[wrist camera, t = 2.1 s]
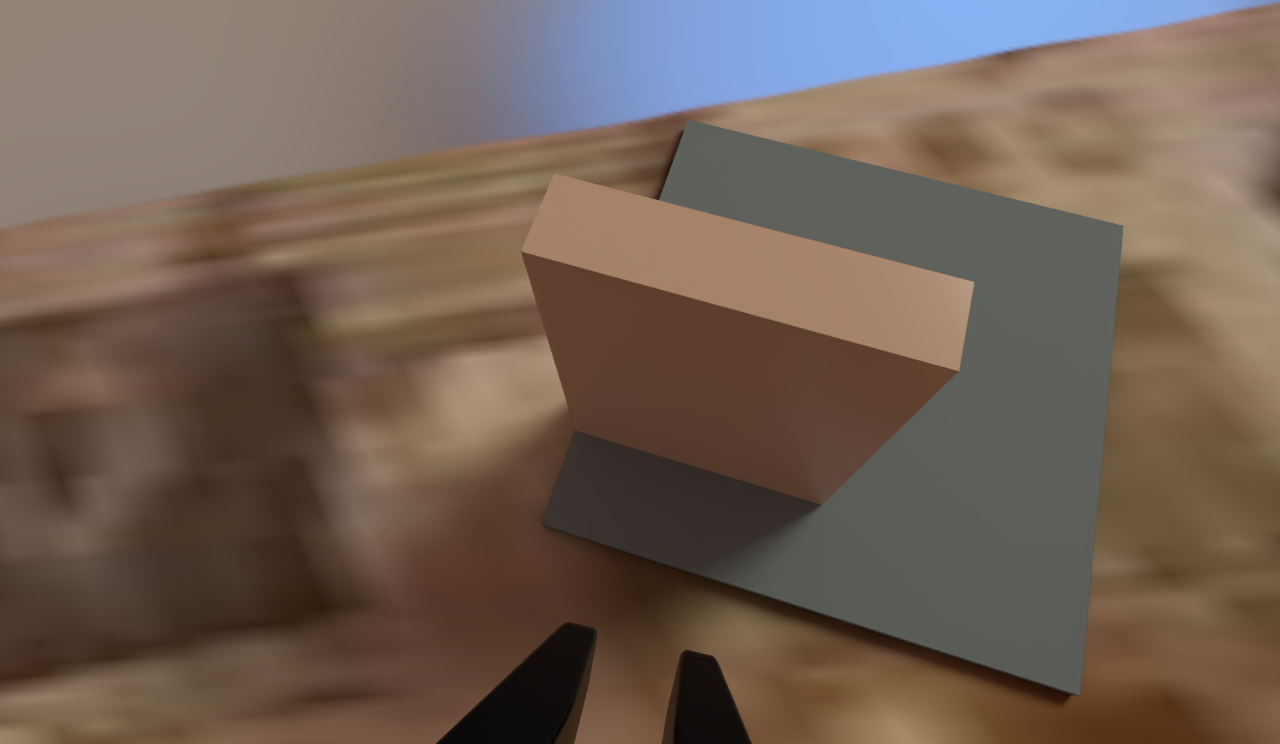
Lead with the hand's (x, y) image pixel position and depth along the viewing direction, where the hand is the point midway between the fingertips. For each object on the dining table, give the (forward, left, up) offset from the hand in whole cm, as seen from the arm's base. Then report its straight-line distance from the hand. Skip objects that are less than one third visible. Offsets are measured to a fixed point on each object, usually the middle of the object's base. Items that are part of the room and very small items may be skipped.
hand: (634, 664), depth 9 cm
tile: (+7, 0, -13) cm, 15 cm away
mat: (+11, -4, -14) cm, 18 cm away
